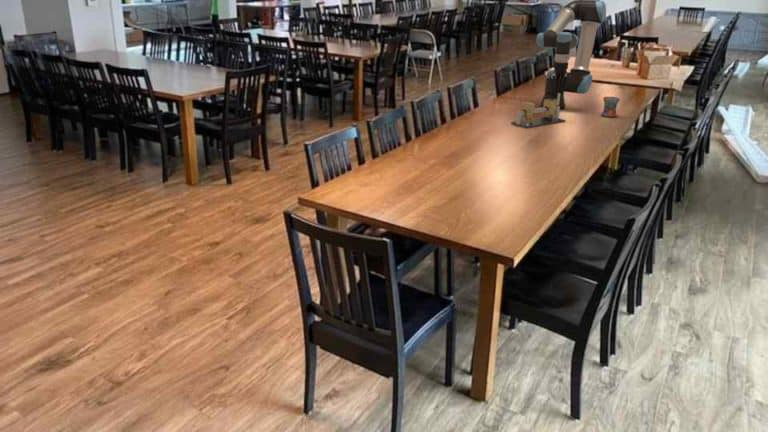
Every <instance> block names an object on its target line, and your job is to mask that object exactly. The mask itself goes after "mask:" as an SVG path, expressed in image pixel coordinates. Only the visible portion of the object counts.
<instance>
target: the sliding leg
mask: <svg viewBox="0 0 768 432" xmlns="http://www.w3.org/2000/svg"><path fill="white" fill-rule="evenodd" d="M556 106H557V100H552V99H544V105H543V107H548V111H545V112H542V115H543V116H545V115H547V116H552V120H554V117H555V116H556V115H555V114H554V110H555V107H556Z"/></svg>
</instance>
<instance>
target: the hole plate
mask: <svg viewBox="0 0 768 432" xmlns="http://www.w3.org/2000/svg"><path fill="white" fill-rule="evenodd" d="M533 118H534V117H533ZM566 121H567V120H566V119H563V118H557V119H555V118H554V120H552V116H548V115H547V116H542V117H536V118H534V120H532V124H531V123H530V120H526V119H523V123H522V124H520V125H519V124H516V120H514V121H511V123H510V124H511V125H514V126H517V127H521V128H524V129H531V128H538V127H543V126H549V125H556V124H560V123H561V124H562V123H566Z"/></svg>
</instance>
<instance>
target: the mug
mask: <svg viewBox="0 0 768 432" xmlns="http://www.w3.org/2000/svg"><path fill="white" fill-rule="evenodd" d="M602 98H603V99H602V100H603V102H604V103H603V104H604V106H603V110H602V112H601V115H602V116H604V117H607V118H615V117H617V107H618V104H619V102H620V100H621V98H620V97H616V96H604V97H602Z"/></svg>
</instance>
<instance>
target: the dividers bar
mask: <svg viewBox="0 0 768 432" xmlns="http://www.w3.org/2000/svg"><path fill="white" fill-rule="evenodd" d="M520 109H521V110H517V111H516V117H515V119H516V120H515V121H516V124H519V125H520V124H522V123H523V120H530V123H531V124H532V120H534V117H533V114H538V113H543V112H545V111H548V107H542V108H541V107H536V103H533V102H530V101H523V102H521V106H520ZM554 114H555V115H556V116H555V117H554V118H555V119H557V118H559V117H560V106H558V105H557V106H556V107H555V110H554ZM559 119H560V118H559Z"/></svg>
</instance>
